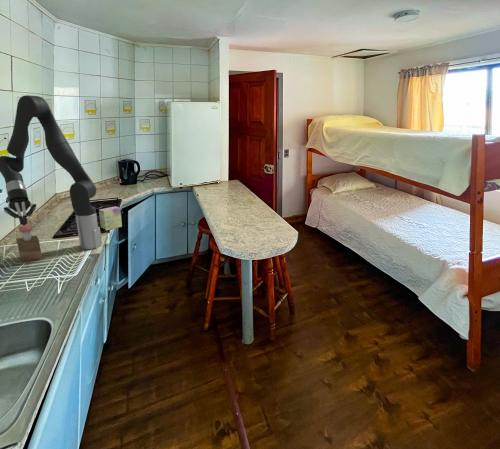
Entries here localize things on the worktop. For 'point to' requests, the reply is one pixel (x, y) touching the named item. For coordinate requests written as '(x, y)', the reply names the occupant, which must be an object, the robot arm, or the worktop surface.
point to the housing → (29, 249)
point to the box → (110, 218)
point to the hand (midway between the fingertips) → (24, 224)
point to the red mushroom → (26, 232)
